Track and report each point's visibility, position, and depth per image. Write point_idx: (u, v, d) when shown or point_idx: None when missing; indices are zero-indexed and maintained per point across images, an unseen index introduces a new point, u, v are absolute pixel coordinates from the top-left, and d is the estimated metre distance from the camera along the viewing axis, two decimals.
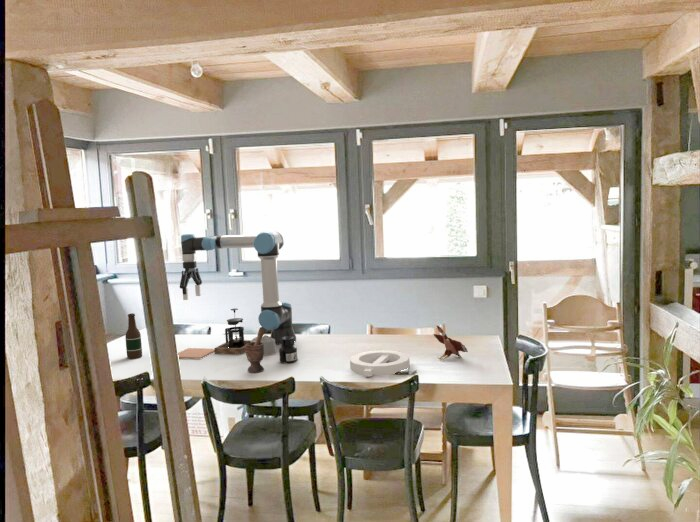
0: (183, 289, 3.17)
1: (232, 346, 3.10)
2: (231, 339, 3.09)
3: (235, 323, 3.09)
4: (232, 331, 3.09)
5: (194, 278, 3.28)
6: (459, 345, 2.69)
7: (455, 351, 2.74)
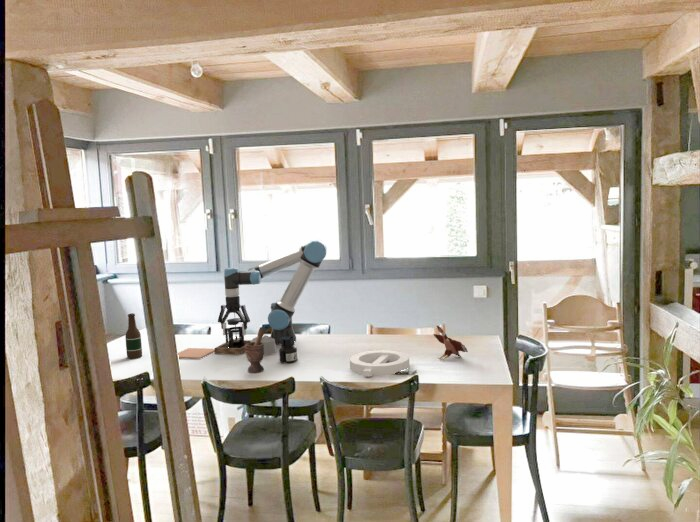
0: None
1: (232, 346, 3.10)
2: (231, 339, 3.09)
3: (235, 323, 3.09)
4: (232, 331, 3.09)
5: None
6: (459, 345, 2.69)
7: (455, 351, 2.74)
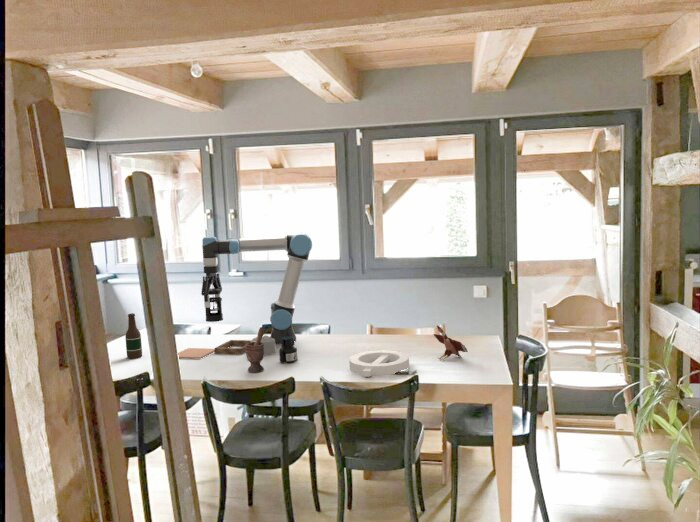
0: (205, 296, 3.01)
1: (221, 315, 3.09)
2: (220, 308, 3.08)
3: (220, 291, 3.10)
4: (221, 299, 3.08)
5: (214, 284, 3.11)
6: (459, 345, 2.69)
7: (455, 351, 2.74)
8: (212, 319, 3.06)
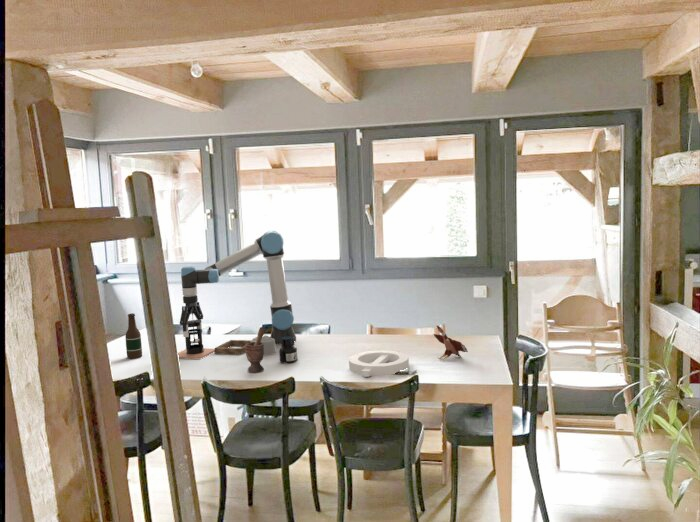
0: (183, 326, 2.98)
1: (201, 347, 3.07)
2: (200, 340, 3.06)
3: (200, 323, 3.08)
4: (201, 331, 3.07)
5: (195, 313, 3.09)
6: (459, 345, 2.69)
7: (455, 351, 2.74)
8: (192, 351, 3.04)
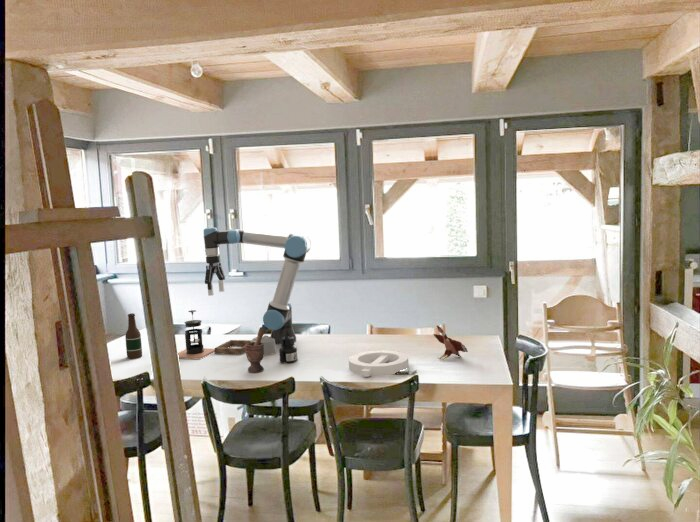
0: (208, 284, 3.08)
1: (201, 347, 3.07)
2: (201, 340, 3.06)
3: (200, 323, 3.08)
4: (201, 331, 3.07)
5: (217, 273, 3.19)
6: (459, 345, 2.69)
7: (455, 351, 2.74)
8: (192, 351, 3.04)
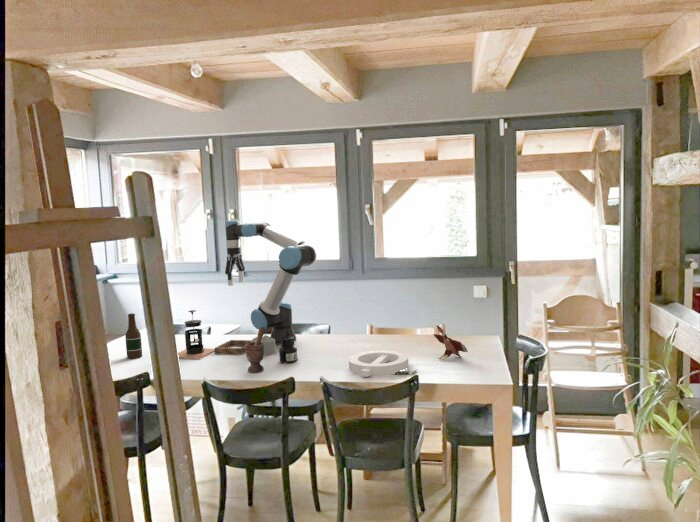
0: (228, 275, 3.18)
1: (201, 347, 3.07)
2: (200, 340, 3.06)
3: (200, 323, 3.08)
4: (201, 331, 3.07)
5: (238, 264, 3.29)
6: (459, 345, 2.69)
7: (455, 351, 2.74)
8: (192, 351, 3.04)
